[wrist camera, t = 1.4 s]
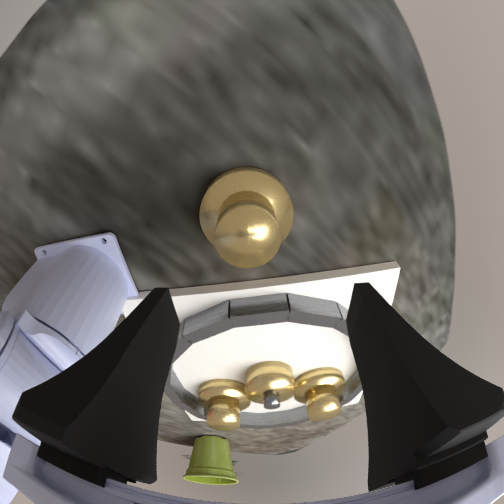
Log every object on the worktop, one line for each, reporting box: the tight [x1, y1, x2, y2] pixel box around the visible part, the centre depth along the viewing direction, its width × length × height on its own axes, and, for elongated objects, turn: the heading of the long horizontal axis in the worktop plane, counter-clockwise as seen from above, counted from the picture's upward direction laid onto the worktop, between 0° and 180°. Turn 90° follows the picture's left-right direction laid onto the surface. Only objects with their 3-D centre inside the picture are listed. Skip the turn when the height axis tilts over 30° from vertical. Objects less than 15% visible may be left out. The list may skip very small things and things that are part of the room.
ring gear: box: [164, 293, 363, 429], centre depth 26 cm, size 22×22×2 cm
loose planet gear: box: [199, 166, 294, 268], centre depth 17 cm, size 6×6×4 cm
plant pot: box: [183, 435, 239, 485], centre depth 37 cm, size 9×9×9 cm
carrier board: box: [122, 261, 400, 421], centre depth 28 cm, size 24×24×1 cm
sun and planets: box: [198, 361, 346, 431], centre depth 26 cm, size 17×9×4 cm, turn 97°
